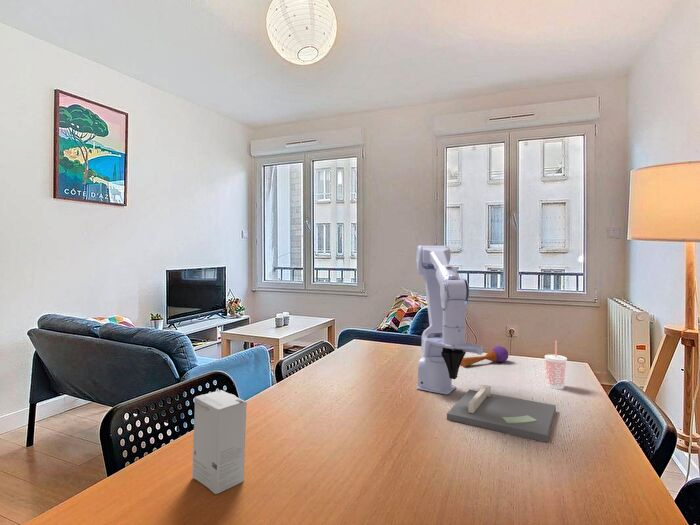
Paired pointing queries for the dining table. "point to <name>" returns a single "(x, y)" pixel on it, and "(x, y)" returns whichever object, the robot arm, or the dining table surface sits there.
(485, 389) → the cream bar
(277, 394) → the dining table surface
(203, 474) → the skincare box
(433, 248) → the robot arm
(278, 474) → the dining table surface
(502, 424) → the board
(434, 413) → the dining table surface
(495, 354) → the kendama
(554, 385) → the beverage cup
